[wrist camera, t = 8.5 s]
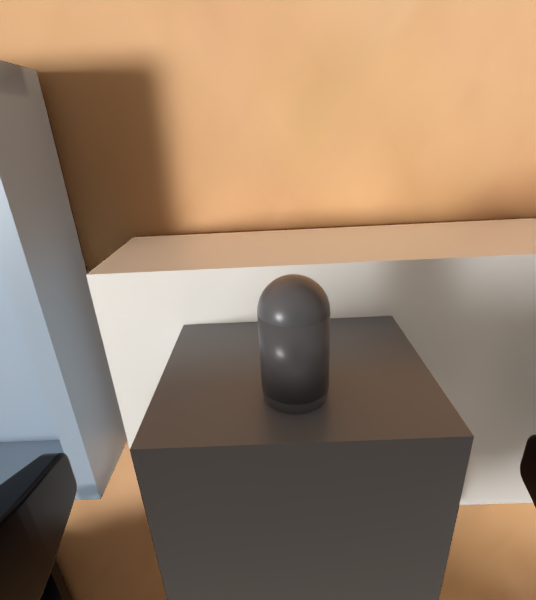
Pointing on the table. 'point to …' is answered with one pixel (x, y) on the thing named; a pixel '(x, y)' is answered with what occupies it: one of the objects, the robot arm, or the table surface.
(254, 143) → the table surface
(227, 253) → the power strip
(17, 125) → the tray
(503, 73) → the table surface
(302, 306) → the grey block with knob
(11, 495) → the robot arm
